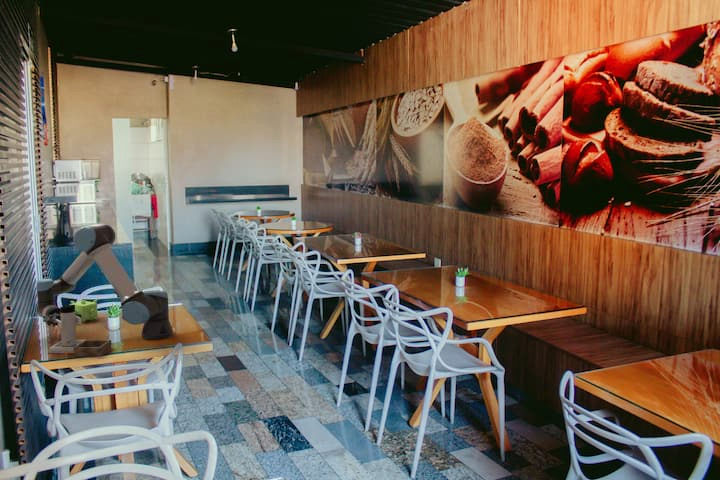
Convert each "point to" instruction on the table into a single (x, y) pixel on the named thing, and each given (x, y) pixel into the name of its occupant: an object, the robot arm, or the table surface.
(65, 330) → the travel mug
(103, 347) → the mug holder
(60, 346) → the tray
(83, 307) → the green rounded cube block
